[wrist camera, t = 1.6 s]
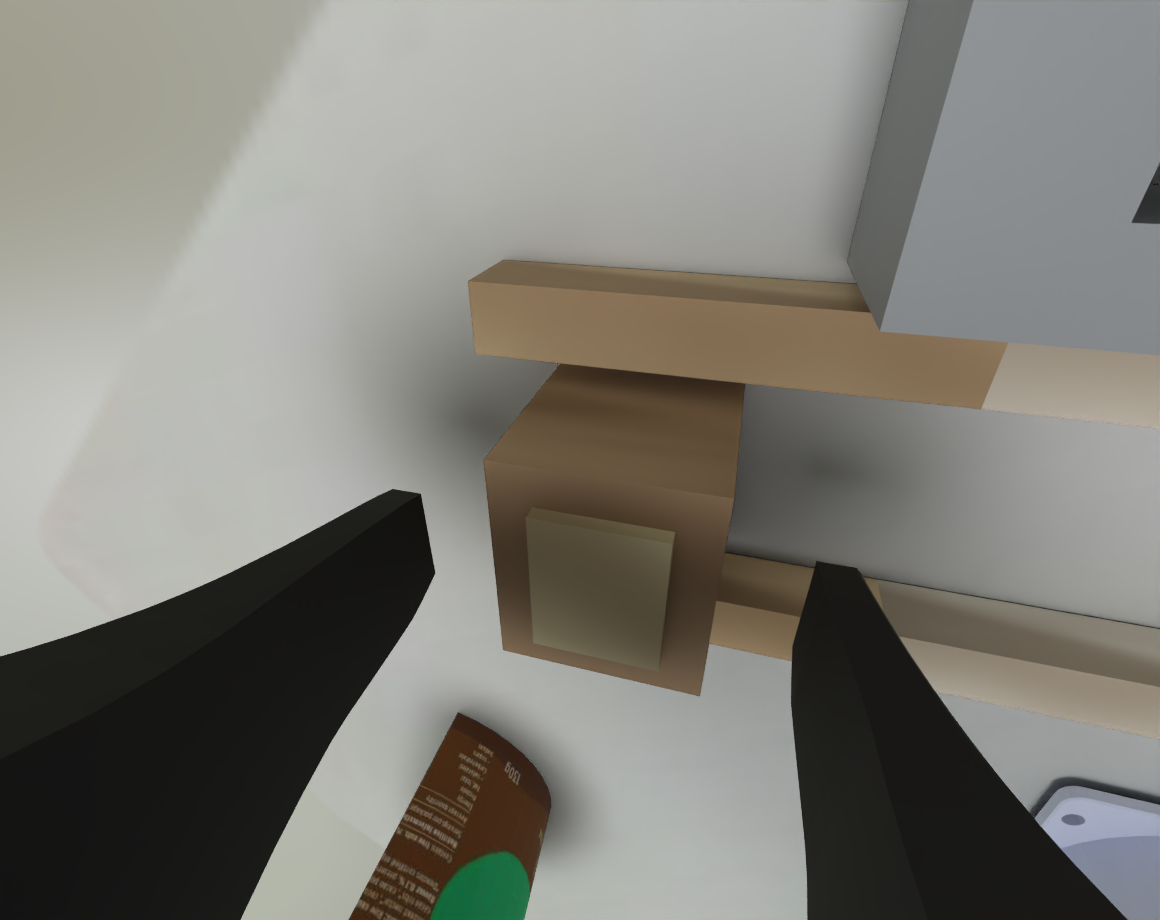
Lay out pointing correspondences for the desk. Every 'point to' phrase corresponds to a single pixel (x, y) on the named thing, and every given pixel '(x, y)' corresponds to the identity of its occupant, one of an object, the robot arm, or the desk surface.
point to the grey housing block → (1018, 176)
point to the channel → (871, 369)
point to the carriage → (615, 521)
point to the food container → (464, 836)
